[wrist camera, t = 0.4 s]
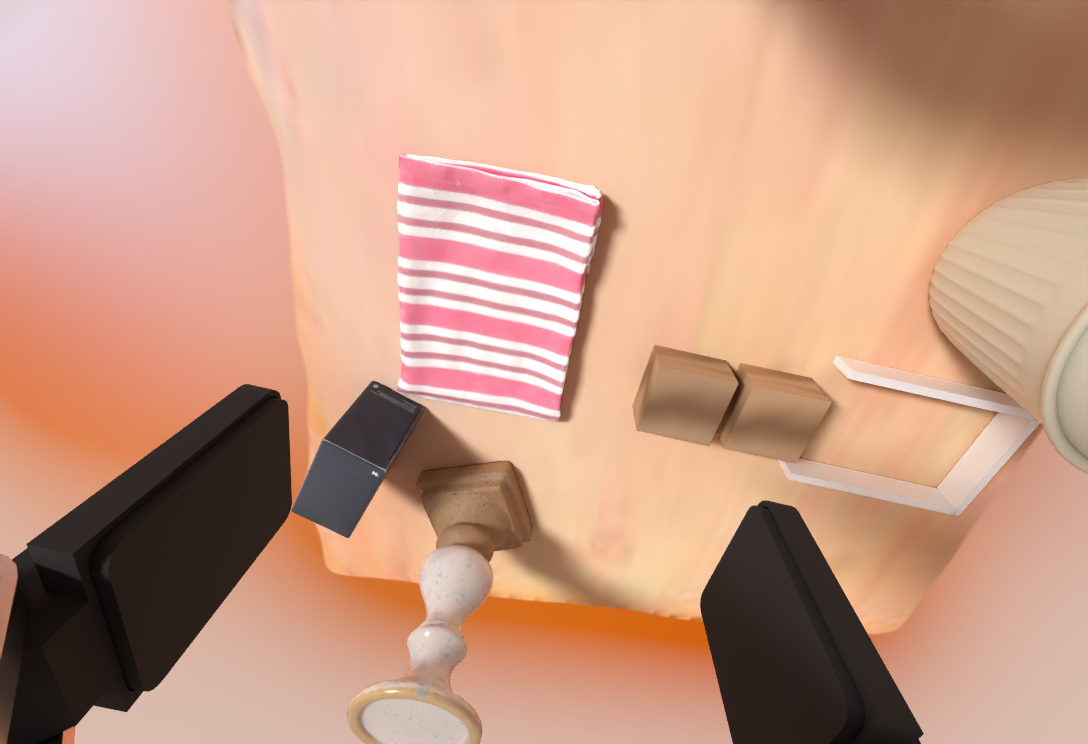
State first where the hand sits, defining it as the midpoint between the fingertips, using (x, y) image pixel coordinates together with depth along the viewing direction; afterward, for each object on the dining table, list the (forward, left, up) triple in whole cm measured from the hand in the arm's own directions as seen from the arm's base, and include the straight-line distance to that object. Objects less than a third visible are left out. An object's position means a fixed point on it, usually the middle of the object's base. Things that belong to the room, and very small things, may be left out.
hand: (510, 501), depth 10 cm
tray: (+14, +35, -34) cm, 51 cm away
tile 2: (+14, +22, -34) cm, 43 cm away
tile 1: (+14, +14, -34) cm, 40 cm away
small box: (+27, -15, -35) cm, 46 cm away
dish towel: (+10, -5, -35) cm, 37 cm away
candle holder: (+35, -3, -34) cm, 49 cm away
